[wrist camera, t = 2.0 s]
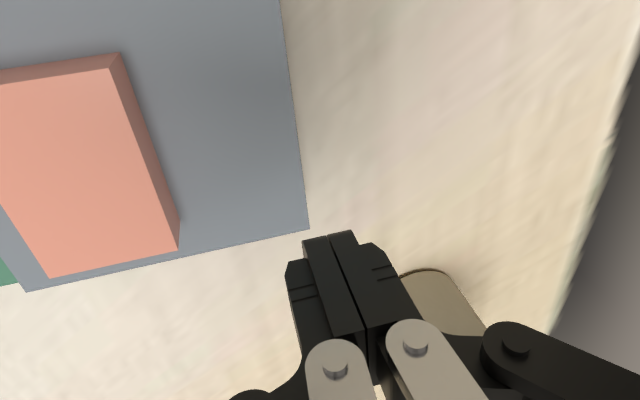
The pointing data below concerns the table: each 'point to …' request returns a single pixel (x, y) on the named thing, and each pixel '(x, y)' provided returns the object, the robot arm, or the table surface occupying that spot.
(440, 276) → the travel mug
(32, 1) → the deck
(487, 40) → the table surface
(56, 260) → the pink slab
